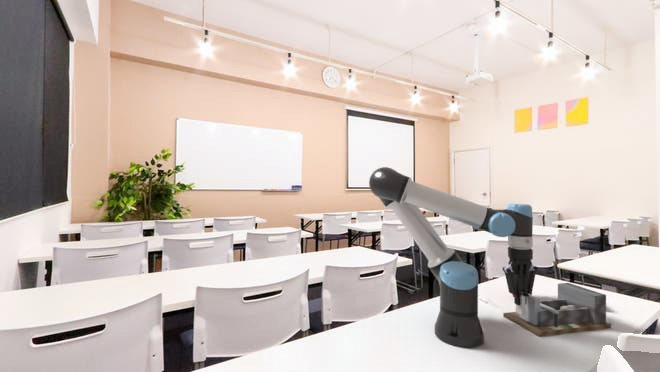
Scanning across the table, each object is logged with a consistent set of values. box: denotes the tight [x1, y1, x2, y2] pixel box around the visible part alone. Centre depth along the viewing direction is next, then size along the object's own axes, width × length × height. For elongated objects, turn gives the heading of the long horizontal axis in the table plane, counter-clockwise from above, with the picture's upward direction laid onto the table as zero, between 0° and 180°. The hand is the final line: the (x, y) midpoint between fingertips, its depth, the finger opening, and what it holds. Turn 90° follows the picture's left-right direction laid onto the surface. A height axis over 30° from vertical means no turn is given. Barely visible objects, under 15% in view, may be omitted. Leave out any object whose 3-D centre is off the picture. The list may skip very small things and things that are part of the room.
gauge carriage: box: [519, 294, 559, 327], centre depth 110 cm, size 8×11×9 cm
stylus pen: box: [478, 294, 506, 312], centre depth 131 cm, size 15×3×2 cm, turn 16°
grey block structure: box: [502, 282, 612, 338], centre depth 114 cm, size 30×16×12 cm, turn 102°
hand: (520, 313), depth 111 cm, fingers closed
